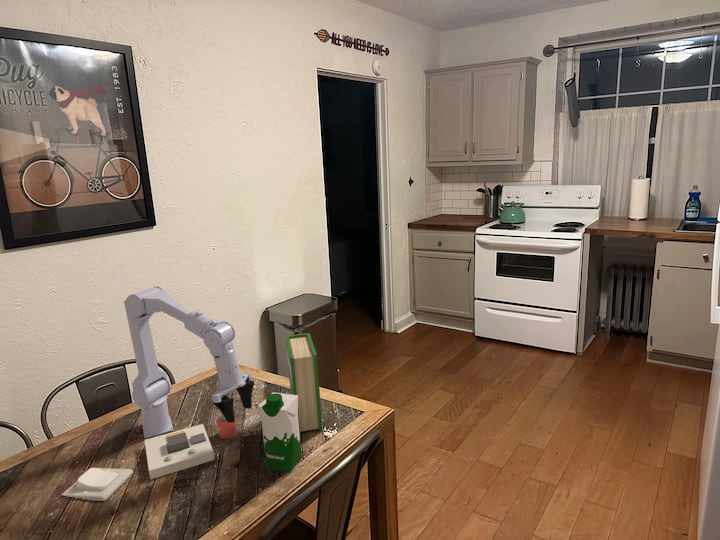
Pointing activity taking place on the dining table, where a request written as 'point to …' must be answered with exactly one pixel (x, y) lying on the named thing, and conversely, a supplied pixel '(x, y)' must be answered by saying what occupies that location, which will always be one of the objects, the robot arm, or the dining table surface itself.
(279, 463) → the milk carton
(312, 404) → the hardback book
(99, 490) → the light switch
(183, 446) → the button
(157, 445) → the panel
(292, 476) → the dining table surface
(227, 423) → the cap
